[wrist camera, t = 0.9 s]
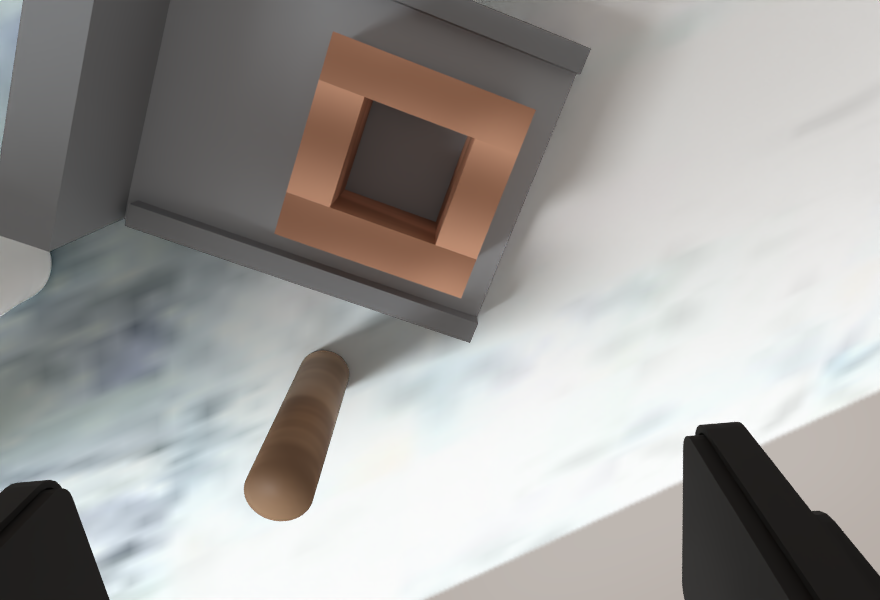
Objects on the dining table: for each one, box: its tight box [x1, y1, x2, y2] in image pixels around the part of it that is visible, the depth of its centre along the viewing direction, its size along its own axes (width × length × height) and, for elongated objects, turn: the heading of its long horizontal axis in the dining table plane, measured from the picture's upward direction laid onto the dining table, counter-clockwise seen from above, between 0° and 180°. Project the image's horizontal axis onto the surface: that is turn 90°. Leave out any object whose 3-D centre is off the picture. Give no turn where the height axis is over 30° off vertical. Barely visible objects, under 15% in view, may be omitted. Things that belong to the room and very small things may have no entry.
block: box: [274, 31, 536, 298], centre depth 31 cm, size 9×9×5 cm
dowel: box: [244, 350, 349, 521], centre depth 34 cm, size 3×3×12 cm
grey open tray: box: [0, 0, 591, 343], centre depth 31 cm, size 16×22×9 cm
